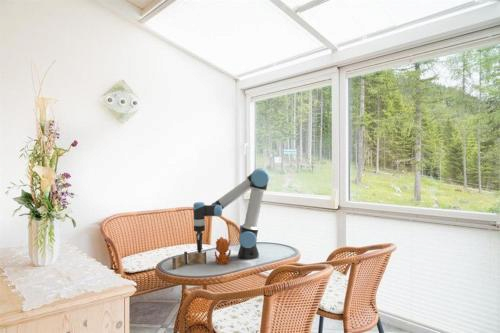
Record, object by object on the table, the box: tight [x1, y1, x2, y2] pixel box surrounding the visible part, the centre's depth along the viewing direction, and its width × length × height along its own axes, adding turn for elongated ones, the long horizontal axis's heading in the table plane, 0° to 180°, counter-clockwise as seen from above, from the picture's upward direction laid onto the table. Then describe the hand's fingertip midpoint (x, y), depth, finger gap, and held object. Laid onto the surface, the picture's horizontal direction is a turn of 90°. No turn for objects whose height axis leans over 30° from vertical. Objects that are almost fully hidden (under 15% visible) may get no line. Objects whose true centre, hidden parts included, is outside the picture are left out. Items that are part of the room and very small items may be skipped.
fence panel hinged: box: [187, 251, 207, 265], centre depth 232 cm, size 12×2×8 cm, turn 95°
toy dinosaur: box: [214, 236, 232, 266], centre depth 233 cm, size 11×11×18 cm
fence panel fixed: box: [171, 251, 188, 270], centre depth 227 cm, size 13×2×8 cm, turn 151°
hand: (199, 259), depth 236 cm, fingers closed
